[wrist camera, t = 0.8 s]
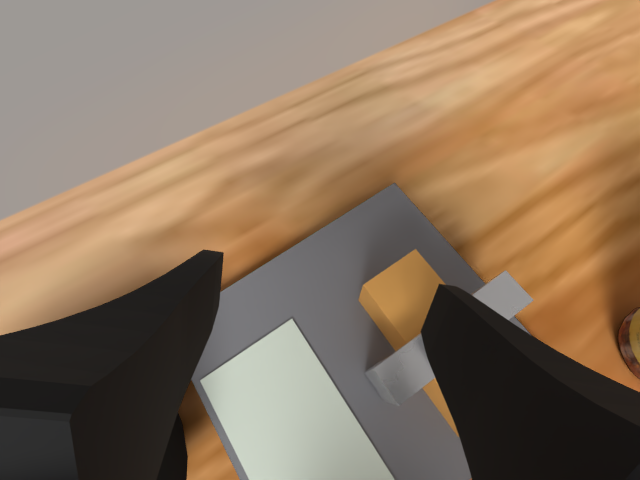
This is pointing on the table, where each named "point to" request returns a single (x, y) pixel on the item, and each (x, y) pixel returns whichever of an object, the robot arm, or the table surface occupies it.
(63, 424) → the robot arm
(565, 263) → the table surface
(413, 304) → the block
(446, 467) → the board
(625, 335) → the sauce bottle
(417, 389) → the clasp
